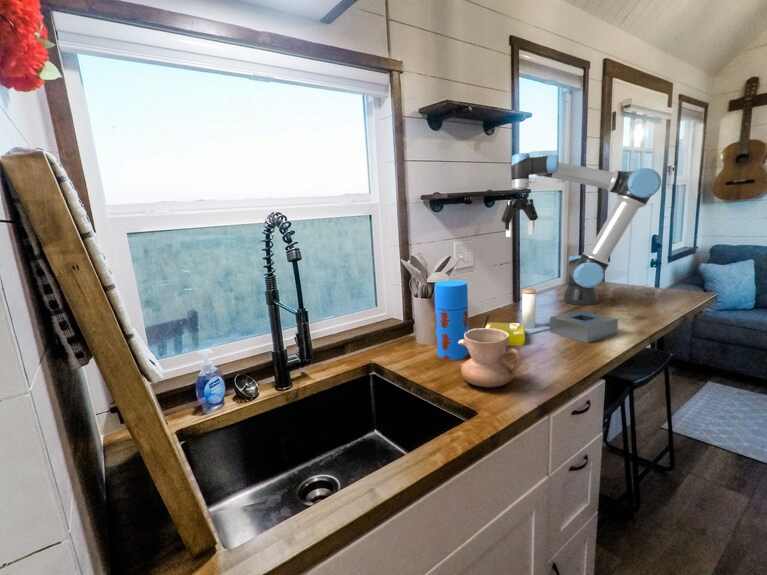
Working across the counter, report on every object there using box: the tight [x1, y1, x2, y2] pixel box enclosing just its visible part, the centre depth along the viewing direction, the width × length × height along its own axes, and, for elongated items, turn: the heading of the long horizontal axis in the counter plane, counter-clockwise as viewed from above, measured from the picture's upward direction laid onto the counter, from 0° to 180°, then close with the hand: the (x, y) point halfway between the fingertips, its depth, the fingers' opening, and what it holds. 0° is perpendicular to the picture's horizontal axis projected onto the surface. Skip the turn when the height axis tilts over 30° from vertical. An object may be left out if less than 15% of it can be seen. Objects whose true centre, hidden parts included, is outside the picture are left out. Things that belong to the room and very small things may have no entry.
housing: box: [549, 309, 619, 344], centre depth 143 cm, size 16×16×6 cm
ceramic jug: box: [458, 327, 522, 388], centre depth 107 cm, size 18×14×14 cm
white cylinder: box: [521, 288, 537, 329], centre depth 151 cm, size 5×5×15 cm
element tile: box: [482, 321, 526, 347], centre depth 143 cm, size 15×15×5 cm
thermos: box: [434, 279, 469, 361], centre depth 129 cm, size 11×11×25 cm
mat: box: [520, 321, 550, 336], centre depth 153 cm, size 12×12×1 cm
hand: (519, 235), depth 178 cm, fingers open, 13 cm apart
